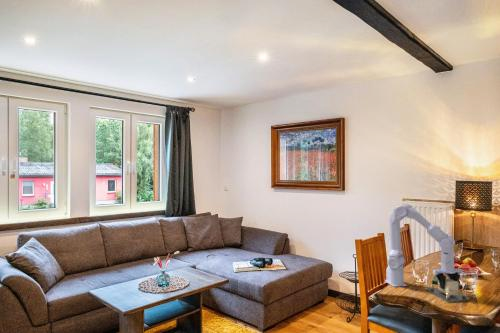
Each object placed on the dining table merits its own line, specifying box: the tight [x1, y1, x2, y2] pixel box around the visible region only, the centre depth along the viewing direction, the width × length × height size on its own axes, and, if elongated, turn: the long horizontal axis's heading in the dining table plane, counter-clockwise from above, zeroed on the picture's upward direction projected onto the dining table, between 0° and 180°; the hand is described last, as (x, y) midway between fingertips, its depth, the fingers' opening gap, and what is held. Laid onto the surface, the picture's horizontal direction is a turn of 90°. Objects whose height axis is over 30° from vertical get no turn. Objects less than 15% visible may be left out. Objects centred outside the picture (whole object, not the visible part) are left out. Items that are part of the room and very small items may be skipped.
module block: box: [437, 276, 459, 295], centre depth 170 cm, size 8×5×6 cm, turn 7°
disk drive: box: [431, 275, 462, 290], centre depth 186 cm, size 10×3×15 cm
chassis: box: [425, 283, 472, 303], centre depth 170 cm, size 16×12×4 cm
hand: (447, 288), depth 170 cm, fingers closed on module block, 5 cm apart
